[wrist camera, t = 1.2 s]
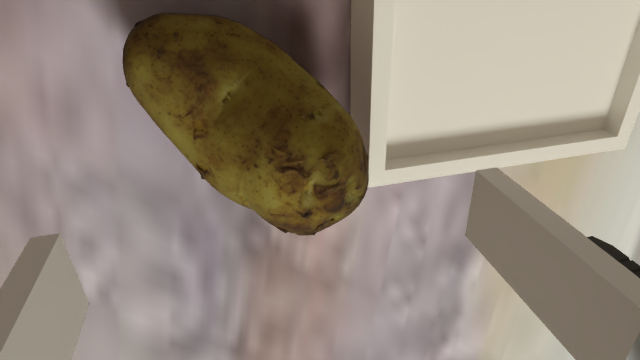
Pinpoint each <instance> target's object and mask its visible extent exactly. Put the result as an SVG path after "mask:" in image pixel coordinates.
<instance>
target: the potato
mask: <svg viewBox="0 0 640 360" xmlns="http://www.w3.org/2000/svg"><path fill="white" fill-rule="evenodd" d="M123 69H124V75H125V79H126V84H127V86H128V87H130V89H131V91H132V93H133V95H134V96H135V98H136V99H137V101H138V102H139V103H140V105H141V106H142V107H143V108H144V109H145V111H146V112H147V113H148V114H149V116H150V117H151V118H152V120H153V121H154V122H155V123H156V125H157V126H158V127H159V128H160V129H161V130H162V132H163V133H164V134H165V135H166V136H167V137H168V138H169V139H170V140H171V141H172V143H173V144H174V145H175V146H176V147H177V148H178V149H179V150H180V152H181V153H182V154H183V155H184V156H185V157H186V158H187V159H188V161H189V162H190V163H191V164H192V165H193V166H194V167H195V168H196V170H197V171H198V172H199V173H200V174H201V178H202V179H205V180H206V181H207V182H208V183H209V184H210V185H211V186H212V187H214V188H215V189H216V190H217V191H218V192H220V193H221V194H222V195H224V196H226V197H227V198H229V199H231V200H232V201H234V202H236V203H238V204H240V205H242V206H245V207H247V208H250V209H252V210H254V211H255V212H256V213H257V214H258V215H259V216H261V217H262V218H263V219H264V220H266V221H267V222H268V223H270V224H272V225H273V226H275V227H277V228H278V229H279V230H281V231H283V232H285V233H286V232H290V233H295V234H297V235H315V233H316V232H319V231H321V230H323V229H325V228H327V227H329V226H331V225H333V224H335V223H337V222H339V221H340V220H342V219H344V218H345V217H347V216H348V215H349V214H351V213H352V212H353V211H354V210H355V209H356V208H357V207H358V206H359V204H360V203H361V201H362V199H363V198H364V196H365V193H366V191H367V187H368V182H369V173H368V154H367V152H366V149H365V146H364V141H363V139H362V136H361V133H360V131H359V129H358V127H357V125H356V124H355V122H354V120H353V119H352V118H351V116H350V115H349V114H348V113H347V112H346V111H345V109H344V108H343V107H342V106H341V105H340V104H339V102H338V101H337V100H336V99H335V98H334V97H333V96H332V95H331V94H330V93H329V92H328V91H327V90H326V89H325V87H324V86H323V85H321V84H320V83H319V82H318V81H317V80H316V79H315V78H314V77H313V76H311V75H310V74H309V73H308V72H306V71H305V70H304V69H303V68H302V67H301V66H299V65H298V64H297V63H296V62H295V61H294V60H293V59H292V58H291V57H290V56H289V55H288V54H287V53H286V52H285V51H283V50H282V49H281V48H279V47H278V46H277V45H275V44H274V43H272V42H271V41H269V40H268V39H266V38H265V37H263V36H262V35H260V34H258V33H257V32H255V31H253V30H252V29H250V28H248V27H245V26H243V25H241V24H239V23H237V22H234V21H231V20H229V19H226V18H223V17H218V16H211V15H191V14H176V13H160V14H156V15H153V16H151V17H149V18H147V19H145V20H142V21H140V22H137V23H136V24H135V28H134V29H132V31H131V32H130V34H129V35H128V37H127V39H126V42H125V45H124V49H123Z"/></svg>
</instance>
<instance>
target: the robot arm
mask: <svg viewBox="0 0 640 360" xmlns="http://www.w3.org/2000/svg"><path fill="white" fill-rule="evenodd" d="M465 236H466V237H467V238H468V239H469V240H470V241H471V242H472V243H473V245H474V246H475V247H476V248H477V249H478V250H479V251H480V252H481V254H482V255H483V256H484V257H485V258H486V259H487V260H488V261H489V263H490V264H491V265H492V266H493V267H494V268H495V269H496V270H497V272H498V273H499V274H500V275H501V276H502V277H503V278H504V279H505V281H506V282H507V283H508V284H509V285H510V286H511V287H512V288H513V290H514V291H515V292H516V293H517V294H518V295H519V296H520V297H521V299H522V300H523V301H524V302H525V303H526V304H527V305H528V306H529V308H530V309H531V310H532V311H533V312H534V313H535V314H536V315H537V317H538V318H539V319H540V320H541V321H542V322H543V323H544V324H545V326H546V327H547V328H548V329H549V330H550V331H551V332H552V334H553V335H554V336H555V337H556V338H557V339H558V340H559V341H560V343H561V344H562V345H563V346H564V347H565V348H566V349H567V350H568V352H569V353H570V354H571V355H572V356H573V357H574V358H575V359H576V360H640V266H639V265H638V264H637V263H635V262H634V261H633V260H632V261H630V260H629V257H627V256H626V255H625V254H623V253H622V252H621V251H619V250H618V249H616V248H615V247H614V246H612V245H610V244H608V243H606V242H604V241H602V240H599V239H597V238H595V237H593V236H591V237H586V236H584V235H583V234H582V233H581V232H579V231H578V230H577V229H575V228H574V227H573V226H571V225H570V224H569V223H568V222H566V221H565V220H564V219H562V218H561V217H560V216H559V215H557V214H556V213H555V212H553V211H552V210H551V209H549V208H548V207H547V206H546V205H544V204H543V203H542V202H540V201H539V200H538V199H537V198H535V197H534V196H533V195H531V194H530V193H529V192H527V191H526V190H525V189H524V188H522V187H521V186H520V185H518V184H517V183H516V182H515V181H513V180H512V179H511V178H509V177H508V176H507V175H505V174H504V173H503V172H502V171H500V170H499V169H498V168H496V167H495V168H489V169H482V170H476V174H475V180H474V186H473V192H472V198H471V204H470V210H469V216H468V222H467V228H466V234H465ZM88 306H89V302H88V299H87V297H86V295H85V292H84V290H83V287H82V285H81V283H80V280H79V278H78V275H77V273H76V270H75V268H74V266H73V263H72V261H71V258H70V256H69V254H68V251H67V249H66V246H65V244H64V242H63V239H62V237H61V234H60V233H59V234H53V235H46V236H40V237H33V238H30V240H29V241H28V243H27V245H26V247H25V248H24V250H23V252H22V253H21V255H20V257H19V258H18V260H17V262H16V263H15V265H14V267H13V268H12V270H11V272H10V274H9V275H8V277H7V279H6V280H5V282H4V284H3V285H2V287H1V289H0V360H71V358H72V355H73V352H74V349H75V346H76V343H77V340H78V337H79V333H80V330H81V327H82V324H83V321H84V318H85V315H86V312H87V309H88Z"/></svg>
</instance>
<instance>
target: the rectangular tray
mask: <svg viewBox="0 0 640 360" xmlns="http://www.w3.org/2000/svg"><path fill="white" fill-rule="evenodd" d="M639 110H640V0H351V78H350V116H351V118H352V119H353V120H354V122H355V124H356V125H357V127H358V129H359V131H360V133H361V136H362V139H363V141H364V146H365V149H366V152H367V154H368V173H369V182H368V188H369V187H376V186H382V185H389V184H395V183H402V182H409V181H415V180H422V179H428V178H435V177H441V176H448V175H454V174H461V173H468V172H474V171H476V170H482V169H489V168H495V167H496V168H500V167H507V166H513V165H520V164H526V163H533V162H540V161H546V160H553V159H559V158H566V157H572V156H579V155H585V154H592V153H599V152H605V151H612V150H618V149H625V148H626V145H627V142H628V140H629V137H630V134H631V132H632V129H633V126H634V124H635V121H636V118H637V116H638V113H639Z"/></svg>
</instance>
